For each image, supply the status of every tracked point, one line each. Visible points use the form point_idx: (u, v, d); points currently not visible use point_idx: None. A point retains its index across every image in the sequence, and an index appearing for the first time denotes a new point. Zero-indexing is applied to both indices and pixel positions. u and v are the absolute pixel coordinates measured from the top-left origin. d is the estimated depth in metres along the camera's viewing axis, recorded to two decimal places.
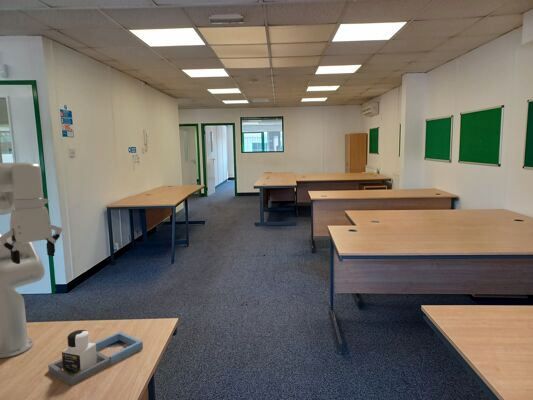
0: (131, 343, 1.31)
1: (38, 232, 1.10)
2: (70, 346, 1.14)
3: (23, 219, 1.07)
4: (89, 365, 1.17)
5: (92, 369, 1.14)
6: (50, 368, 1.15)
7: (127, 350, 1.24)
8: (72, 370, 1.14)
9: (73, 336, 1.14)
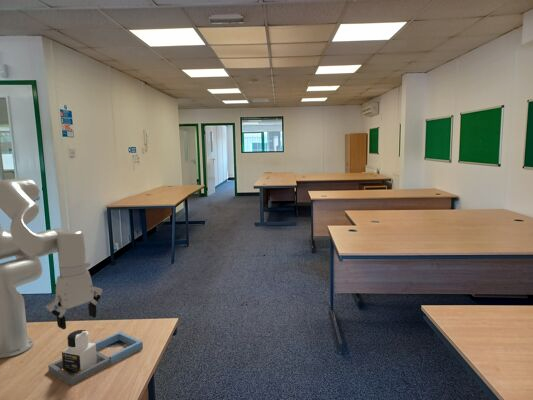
0: (131, 343, 1.31)
1: (82, 296, 1.14)
2: (70, 346, 1.14)
3: (69, 286, 1.11)
4: (89, 365, 1.17)
5: (92, 369, 1.14)
6: (50, 368, 1.15)
7: (127, 350, 1.24)
8: (72, 370, 1.14)
9: (73, 336, 1.14)
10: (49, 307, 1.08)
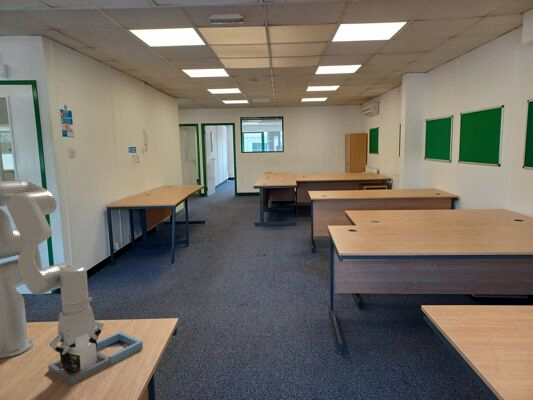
0: (131, 343, 1.31)
1: (84, 332, 1.16)
2: (70, 346, 1.14)
3: (71, 322, 1.12)
4: (89, 365, 1.17)
5: (92, 369, 1.14)
6: (50, 368, 1.15)
7: (127, 350, 1.24)
8: (72, 370, 1.14)
9: None
10: (52, 345, 1.10)
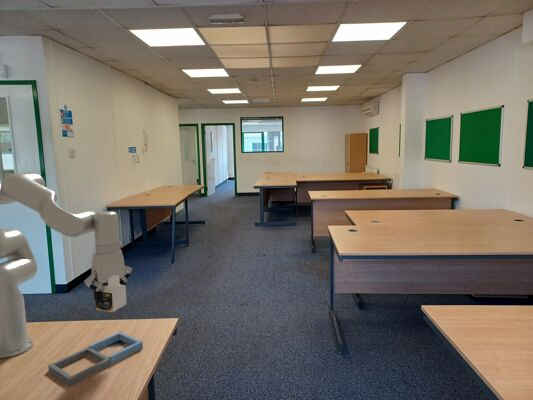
0: (131, 343, 1.31)
1: (115, 272, 1.24)
2: (103, 285, 1.22)
3: (104, 262, 1.20)
4: (120, 304, 1.25)
5: (92, 369, 1.14)
6: (50, 368, 1.15)
7: (127, 350, 1.24)
8: (105, 307, 1.22)
9: None
10: (87, 282, 1.18)
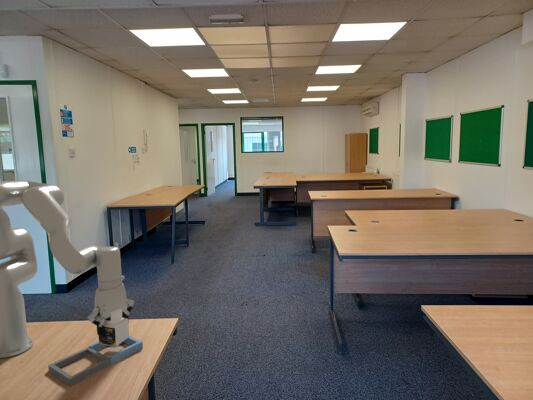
0: (131, 343, 1.31)
1: (117, 307, 1.25)
2: (106, 320, 1.23)
3: (107, 298, 1.22)
4: (123, 338, 1.26)
5: (92, 369, 1.14)
6: (50, 368, 1.15)
7: (127, 350, 1.24)
8: (108, 342, 1.24)
9: None
10: (90, 318, 1.19)
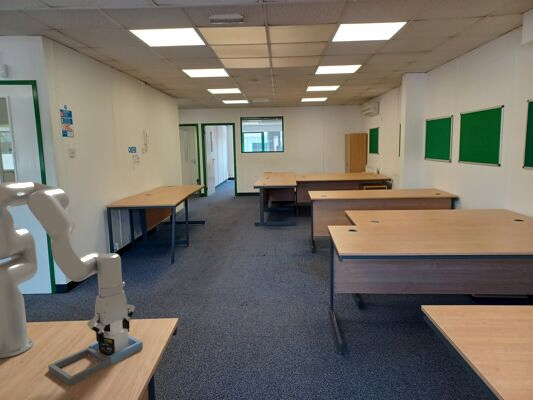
0: (131, 343, 1.31)
1: (118, 314, 1.26)
2: (105, 330, 1.24)
3: (107, 304, 1.22)
4: (122, 348, 1.27)
5: (92, 369, 1.14)
6: (50, 368, 1.15)
7: (127, 350, 1.24)
8: (107, 352, 1.24)
9: None
10: (90, 324, 1.19)
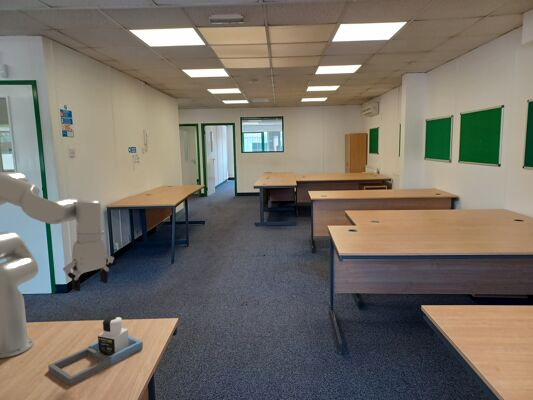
0: (131, 343, 1.31)
1: (96, 262, 1.22)
2: (105, 330, 1.24)
3: (85, 251, 1.18)
4: (122, 348, 1.27)
5: (92, 369, 1.14)
6: (50, 368, 1.15)
7: (127, 350, 1.24)
8: (107, 352, 1.24)
9: (108, 321, 1.24)
10: (66, 269, 1.15)
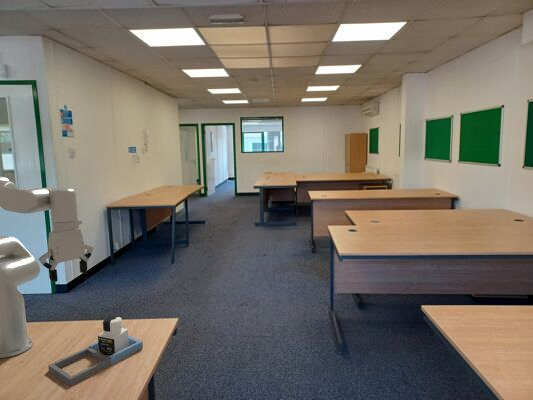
0: (131, 343, 1.31)
1: (73, 252, 1.20)
2: (105, 330, 1.24)
3: (60, 240, 1.16)
4: (122, 348, 1.27)
5: (92, 369, 1.14)
6: (50, 368, 1.15)
7: (127, 350, 1.24)
8: (107, 352, 1.24)
9: (108, 321, 1.24)
10: (41, 259, 1.13)
